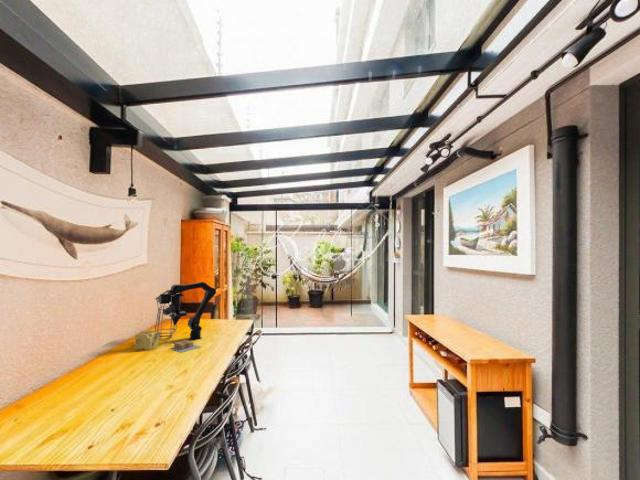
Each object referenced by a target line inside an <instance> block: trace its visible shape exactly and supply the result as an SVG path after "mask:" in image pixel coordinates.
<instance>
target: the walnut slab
mask: <svg viewBox="0 0 640 480" xmlns="http://www.w3.org/2000/svg"><path fill="white" fill-rule="evenodd" d="M193 345H194V341H192V340H191V341H190V340H187V339H183V340H180V341H175V342H174V344H173V348H178V349H181V350H183V349H187V348H190V347H193Z"/></svg>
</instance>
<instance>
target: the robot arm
mask: <svg viewBox="0 0 640 480" xmlns="http://www.w3.org/2000/svg"><path fill="white" fill-rule="evenodd" d="M195 289H202V290H203V291H204V295H203V298H202V301H201V302H200V305H199V306H198V308H197V310H196V312H195V314H194V315H193V316H190V317H189V319H188V320H187V327H189V329H190V333H189V338H188V339H189V340H191V341H197V340H201V339H203V337H202V336H201V333H202V328H203V327H201V326H200V323H201V317H202V316H203V314H204V312H205V311H206V308H207V306H208V304H209V302H210V300H212V299H213V298H214V297H215V295H216V293H217V290H216V288H214V287H211V286H210V285H209V284H207V283H206V282H204V281H200V282H195V283H188V284H173V285H171V288H170V289H169V290H170V291H169V292H168V293H167V294H166V293H165V294H162V293H160V294H159V295H160V298H159V300H158V301H159V302H158V305H160V304H161V305H162V304H163V305H167V304H168V303H169V304H168V306H167V307H165V308H164V310H161V312H162V313H163V316H169V317H170V319H171V318H172V324H173V326H174V325H175V326H176V324H178V322H179V319H180V318H181V317H185V316H188V312H187V311H184V310H182V309H181V306H182V303H181V297H184V294H183V292H185V291H190V290H195ZM171 295H172V296H171Z"/></svg>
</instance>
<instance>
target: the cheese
mask: <svg viewBox="0 0 640 480" xmlns="http://www.w3.org/2000/svg"><path fill="white" fill-rule="evenodd" d="M159 332H160V330H158V331H157V330H156V331H155V330H142V331H141V332H139V333H136V334H135V340H134V349H135V350H136V351H137V350H139V351H141V350H145V351H150V350H151V351H152V349H154V348H156V347H157V346H158V345H159V340H160V337H159Z"/></svg>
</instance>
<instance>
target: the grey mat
mask: <svg viewBox="0 0 640 480" xmlns="http://www.w3.org/2000/svg"><path fill="white" fill-rule="evenodd" d="M199 347H200V348H201V346H200V345H196V344H193V347H190V348H187V349H183V350H181V349H178V348H175V347H172V348H171V350H172V351H175V352H178V353H185V352H189V351H192V350H196V349H199Z"/></svg>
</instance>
